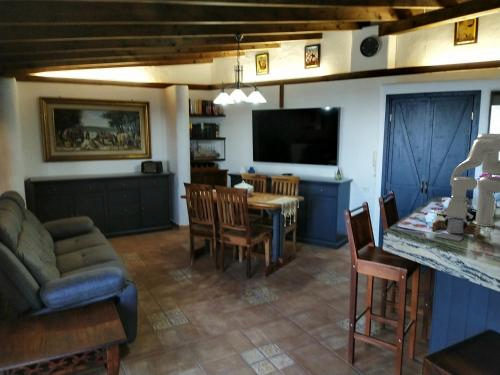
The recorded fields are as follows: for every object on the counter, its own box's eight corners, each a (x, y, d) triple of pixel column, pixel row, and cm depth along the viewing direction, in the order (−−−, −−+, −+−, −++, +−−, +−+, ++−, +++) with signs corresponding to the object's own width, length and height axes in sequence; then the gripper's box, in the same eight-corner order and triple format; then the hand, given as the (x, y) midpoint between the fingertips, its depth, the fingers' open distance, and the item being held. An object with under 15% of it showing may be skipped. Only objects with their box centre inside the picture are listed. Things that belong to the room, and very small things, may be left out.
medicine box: (460, 231, 230) (461, 217, 228) (463, 233, 225) (464, 219, 224) (446, 231, 230) (447, 217, 229) (449, 233, 226) (450, 219, 225)
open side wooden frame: (436, 227, 241) (437, 219, 240) (478, 234, 227) (479, 226, 226) (432, 231, 232) (432, 223, 231) (475, 238, 217) (476, 230, 217)
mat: (441, 233, 227) (441, 232, 227) (464, 237, 220) (464, 236, 220) (436, 237, 218) (436, 236, 218) (459, 241, 211) (459, 240, 211)
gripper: (476, 199, 222) (473, 228, 225) (443, 196, 232) (441, 223, 235) (473, 201, 216) (470, 231, 219) (440, 198, 227) (438, 225, 230)
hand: (455, 227), depth 227 cm, fingers closed on medicine box, 9 cm apart
